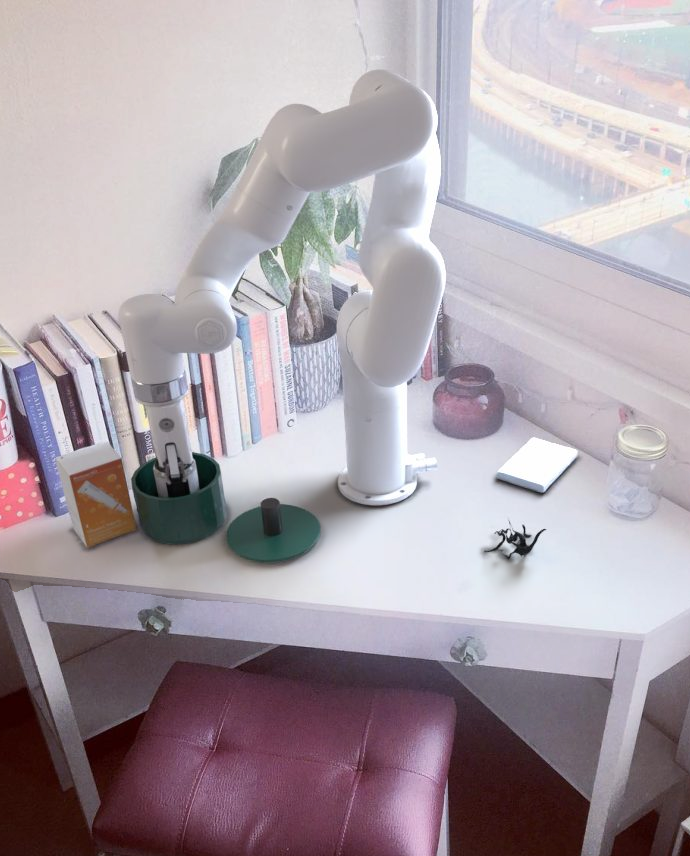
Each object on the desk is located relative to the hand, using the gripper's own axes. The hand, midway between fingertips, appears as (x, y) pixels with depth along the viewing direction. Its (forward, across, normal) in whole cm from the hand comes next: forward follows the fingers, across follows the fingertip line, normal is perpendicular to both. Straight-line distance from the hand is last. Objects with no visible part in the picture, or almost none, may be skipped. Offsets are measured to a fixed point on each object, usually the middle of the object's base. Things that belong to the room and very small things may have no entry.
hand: (178, 490), depth 137 cm
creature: (+5, -22, -45) cm, 50 cm away
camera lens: (+3, 0, 0) cm, 3 cm away
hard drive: (+5, -2, -57) cm, 57 cm away
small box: (+5, 0, +12) cm, 13 cm away
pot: (+5, 0, 0) cm, 5 cm away
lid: (+5, -9, -13) cm, 16 cm away
